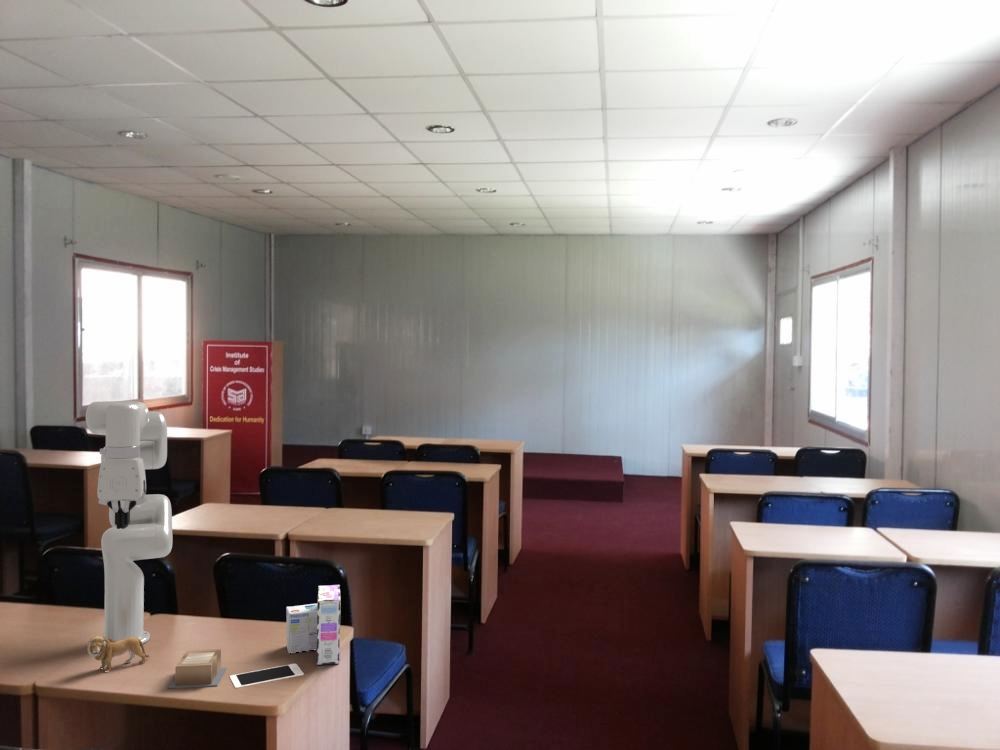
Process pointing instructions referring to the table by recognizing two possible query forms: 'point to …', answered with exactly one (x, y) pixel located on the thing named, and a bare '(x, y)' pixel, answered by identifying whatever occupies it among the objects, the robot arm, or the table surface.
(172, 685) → the mat
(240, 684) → the cell phone
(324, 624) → the candy box
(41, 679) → the table surface
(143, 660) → the lion figurine
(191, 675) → the tan wooden block
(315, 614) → the light bulb box
